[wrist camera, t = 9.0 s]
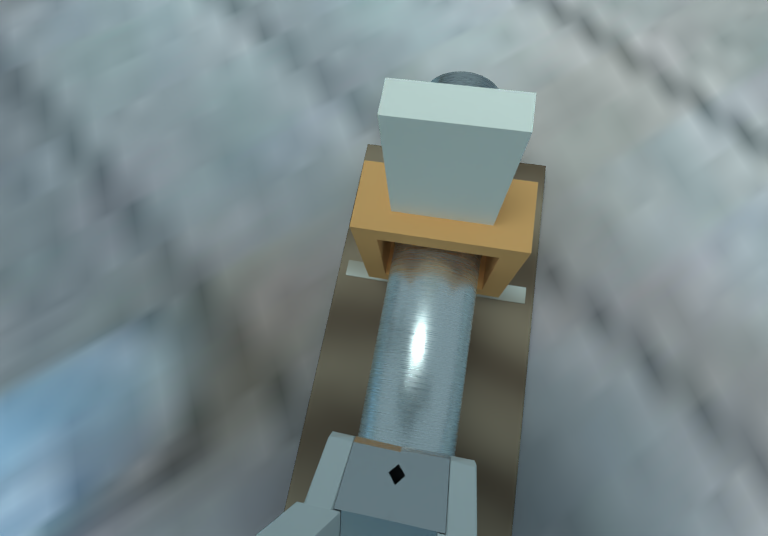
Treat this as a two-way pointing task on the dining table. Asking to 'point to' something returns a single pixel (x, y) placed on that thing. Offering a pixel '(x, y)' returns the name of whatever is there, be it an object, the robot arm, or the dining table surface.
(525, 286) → the pipe stand
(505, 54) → the dining table surface
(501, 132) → the orange pipe clamp
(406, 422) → the pipe
